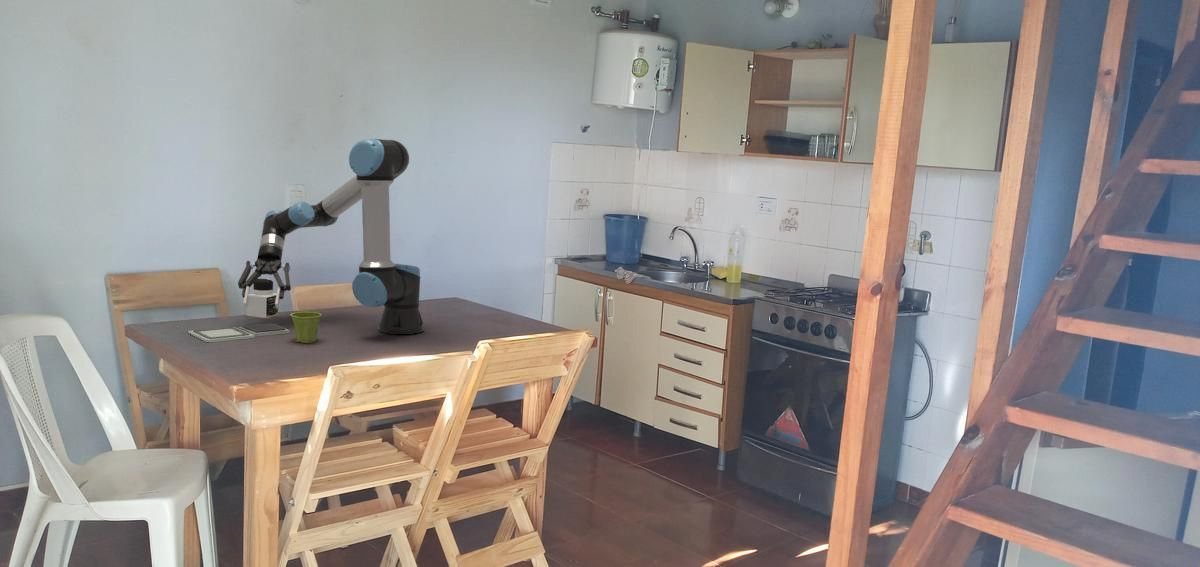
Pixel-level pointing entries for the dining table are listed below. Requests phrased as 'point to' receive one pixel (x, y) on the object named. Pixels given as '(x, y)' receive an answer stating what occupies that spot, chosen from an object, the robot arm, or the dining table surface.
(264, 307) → the medicine bottle
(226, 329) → the print board
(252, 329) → the ink pad
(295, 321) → the plant pot
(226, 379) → the dining table surface
